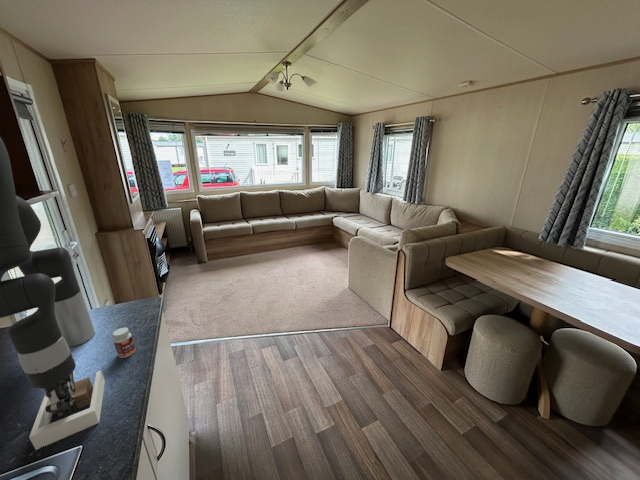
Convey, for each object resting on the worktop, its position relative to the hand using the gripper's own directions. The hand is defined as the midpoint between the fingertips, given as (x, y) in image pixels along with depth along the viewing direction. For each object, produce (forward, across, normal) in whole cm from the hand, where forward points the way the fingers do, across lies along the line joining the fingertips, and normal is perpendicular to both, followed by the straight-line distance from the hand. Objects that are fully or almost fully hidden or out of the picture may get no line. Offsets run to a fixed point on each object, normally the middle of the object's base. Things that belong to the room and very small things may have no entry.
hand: (72, 415), depth 65 cm
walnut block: (+1, -5, 0) cm, 5 cm away
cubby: (+1, -2, 0) cm, 2 cm away
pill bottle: (+1, -19, +10) cm, 22 cm away
